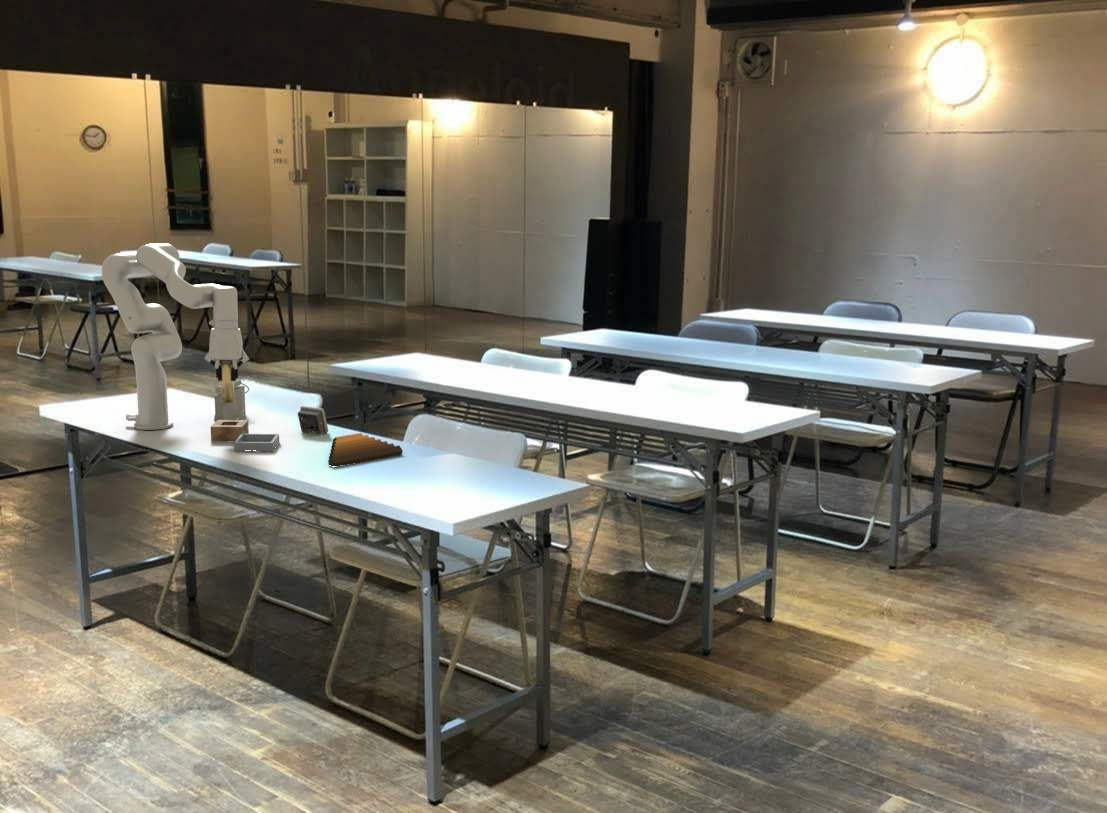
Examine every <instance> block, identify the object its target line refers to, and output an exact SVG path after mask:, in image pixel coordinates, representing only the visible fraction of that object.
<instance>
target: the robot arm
mask: <svg viewBox="0 0 1107 813" xmlns="http://www.w3.org/2000/svg"><path fill="white" fill-rule="evenodd" d="M186 269H187V268H186V265H185V264H184V263H183V262H181V261H180V253H179V251H178V249H177V248H176V247H175V246H174V245H172V244H170V243H165V242H164V243H163V242H161V243H147V244H143V245H141V246H140V247H138V248H137V250H136V251H131V252H130V251H129V252H117V253H113V254H110V255H108V256H106V258H104V261H103V263H102V265H101V278H102V281H103V283H104V286H106V289H107V290H108V292H109V294H110V296H111V297H112V299H113V301H114V303H115V307H116V308H117V311H118V313H119V315H120V317H121V320H122V321H123V324H124V326H125V329H126V330H127V331H128V332H129V333H131V334H143V333H150V332H151V333H152V334H145V335H142V336H141V335H140V336H139V337H137V338H136V339H135V340H133V342H132V343H131V349H130V350H131V355H132V359H133V363H134V369H135V379H136V380H135V381H136V395H137V397H136V398H137V413H135V414H126V415H125V420H126V421H127V422H132V421H133V422H134V424H133V427H134V429H136V430H139V431H140V430H143V431H159V430H165V429H170V428H172V427H173V426H174V421H173V420H169V409H168V405H169V404H168V387H167V386H168V385H167V375H166V371H165V369H164V367H163V365H162V364H161V362H164V361H165V362H166V361H170V360H174V359H177V358H178V357H179V356H180V355H181V354H182V350H183V345H182V340H181V337H180V335H179V333H178V331H177V328H176V326H175V324H174V323H175V322H174V321H173V319H172V317H171V314H170V312H169V311H168V310H167V309H166V308H165V307H164V306H163V305H161V304H160V303H159V304H158V303H145V301H144V300H143V298H142V295H141V293H140V291H139V289H138V288H137V287H136V286H135V284H133V283H132V282H131V281H130V280H129V279H132V278H143V277H144V278H145V277H149V276H154V277H155V278H158V279H159V280H161V281H162V282H164V284H166V285H165V286H166V289H167V291H168V294H169V295H170V297H172V298H173V299H174V300H175V301H177V302H178V303H179V304H181V305H183V306H184V307H185V308H188V309H196V310H197V309H203V308H213V309H212V313H213V314H212V315H213V319H212V320H209V321H208V325H210V326H212V328H211V329H210V334H209V343H208V344H209V347H208V348H209V350H208V352H207V353H206V355H205V357H204V360H205V361H207V362H208V363H210V364H211V365H212V366H213V367H214V369H215V374H216V375H215V377H216V379H217V381H218V382H221V364H220V360H232V362H233V369H232V381H236V380H237V379H239V368H240V367H241V366H242V365H243V364H244V363H246V362H247V361H249V360H250V358H249V356H248V355H247V353H246V352H245V350H244V344H243V337H242V332H241V328H239V319H238V318H239V315H238V310H239V308H238V290H237V287H234V286H232V285H231V286H230V285H221V284H216V283H201V284H194V285H193V284H190V283H189V282H188V281H186V280H185V279H184V278H185V275H186V272H187V270H186ZM241 358H242V359H241Z"/></svg>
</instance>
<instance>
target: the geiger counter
mask: <svg viewBox="0 0 1107 813" xmlns="http://www.w3.org/2000/svg"><path fill="white" fill-rule="evenodd" d="M245 387H246V388H247V390H245ZM214 391H215V395H214V414H215V415H214V418H213V421H214V423H215V422H216V421H217V420H236V419H237V420H239V419H240V417H241V416H243V415H244V416H246V415H245V414H246V394H247V393H249V391H250V387H249V386H248V385H247V384H244V383H242V380H241V379H239V378H237V380H236V381H234V402H232V403H223V402H222V401H221V384H220V385H218V386H217V387H215V389H214ZM244 416H243V417H244ZM238 418H239V419H238ZM241 418H242V417H241Z"/></svg>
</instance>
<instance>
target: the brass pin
mask: <svg viewBox="0 0 1107 813" xmlns="http://www.w3.org/2000/svg"><path fill="white" fill-rule="evenodd" d="M220 364H221V365H220V366H221V380H220V385H221V401H222V402H223V403H232V402H234V381H232V369H233V367H234V366H233V362H232V360H220Z"/></svg>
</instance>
